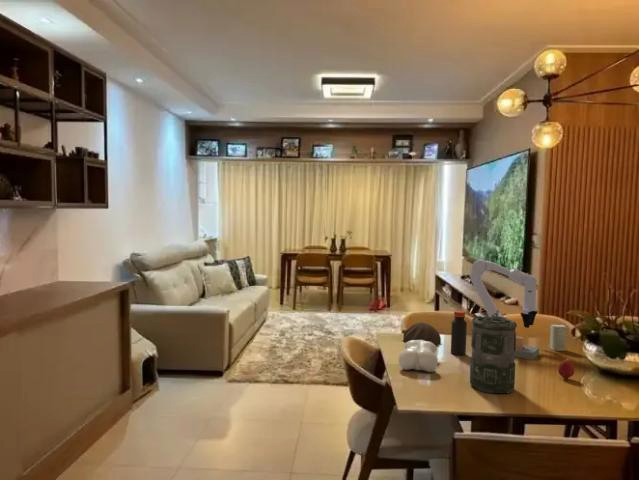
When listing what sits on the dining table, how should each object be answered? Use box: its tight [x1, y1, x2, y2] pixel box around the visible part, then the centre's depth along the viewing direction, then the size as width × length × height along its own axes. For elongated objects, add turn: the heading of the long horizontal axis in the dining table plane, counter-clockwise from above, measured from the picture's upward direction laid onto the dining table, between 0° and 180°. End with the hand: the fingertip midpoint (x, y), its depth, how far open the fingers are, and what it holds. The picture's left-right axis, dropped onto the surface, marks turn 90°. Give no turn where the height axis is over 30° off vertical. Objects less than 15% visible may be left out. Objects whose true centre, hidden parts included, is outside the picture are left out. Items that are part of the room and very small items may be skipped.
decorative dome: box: [402, 322, 442, 346], centre depth 249 cm, size 19×20×10 cm
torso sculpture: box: [398, 340, 439, 373], centre depth 209 cm, size 16×11×30 cm
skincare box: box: [549, 324, 567, 352], centre depth 239 cm, size 6×4×12 cm
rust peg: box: [516, 335, 525, 349], centre depth 229 cm, size 3×3×8 cm
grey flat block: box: [514, 344, 540, 361], centre depth 229 cm, size 16×12×3 cm
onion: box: [557, 359, 575, 380], centre depth 193 cm, size 6×6×8 cm
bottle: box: [450, 310, 468, 357], centre depth 227 cm, size 7×7×20 cm
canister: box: [469, 312, 518, 394], centre depth 181 cm, size 16×16×28 cm
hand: (528, 326), depth 243 cm, fingers open, 7 cm apart
